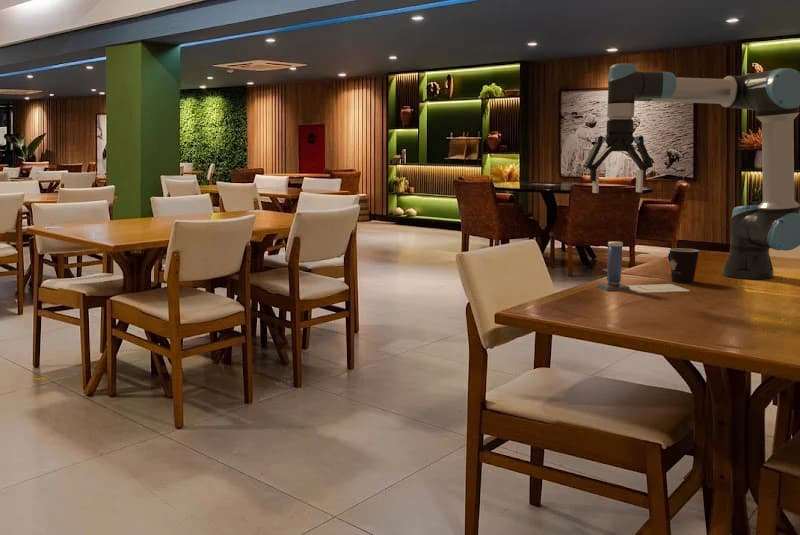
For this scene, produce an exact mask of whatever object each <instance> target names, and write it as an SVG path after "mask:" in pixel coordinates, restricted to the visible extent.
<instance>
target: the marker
mask: <svg viewBox="0 0 800 535" xmlns="http://www.w3.org/2000/svg"><path fill="white" fill-rule="evenodd" d="M623 245H624V242H623V241H618V240H617V241H613V240H611V241H608V242H607V247H608V248H607V249H608V250H607V269H606V272H607V274H606V281H607V283H608V286H620V282H621V281H622V267H623V266H622V265H623V264H622V263H623V262H622V261H623V260H622V259H623Z"/></svg>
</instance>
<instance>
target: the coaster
mask: <svg viewBox="0 0 800 535" xmlns="http://www.w3.org/2000/svg"><path fill="white" fill-rule="evenodd" d="M597 288H600V289H602V290H604V291H606V292H615V291H616V292H619V291H620V292H621V291H631V290H630V287H628V285H625V284H623V283H620V286H608V282H605V283H597Z"/></svg>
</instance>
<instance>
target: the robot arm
mask: <svg viewBox="0 0 800 535" xmlns="http://www.w3.org/2000/svg"><path fill="white" fill-rule="evenodd" d="M608 70H609V71H608V77H607V106H606V107H607V109H606V111H607V114H606V118H608V119H607V121H606V136H603V135H596V136H595V139H594V140H595V141H594V145H593V146H592V149H591V150H590V152H589V154H588V157H587V158H586V160H585V162H584V164H583V167H584V168H586V169H587V170H589V181H590V182H592V191H591V192H592V194H599V191H600V188H599V187H600V185H599V184H600V170H598V168H599V167H600V166H601V165H602V163H604V161H605V160H606V159H607V157H608V156H609V155H610V154H611V153H613V152H625V153H627V154H628V155H629V157H630V158H631V160H632V161H633V162H634V163H635V165H636V166H637V167H638V169H636V176H635V177H636V178H635V193H643V190H644V189H643V186H644V182H645V181H646V176H647V170H648V169H650V168H653V166H654V164H653V162H652V160H651V157H650V155H649V152H648V151H647V148H646V145H645V142H644V139H645V138H644V135H636V136H634V126H635V124H634V123H635V122H634V119H633V118H634V117H635V102H656V103H657V102H660V103H661V102H662V103H664V102H665V103H684V104H685V103H687V104H688V103H690V104H692V103H693V104H718V105H719V104H720V105H721V107H723V108H732V109H733V108H734V109H741V110H749V111H755V117H756V118H757V120H758V121H760V122H761V152H762V153H761V156H762V158H761V159H762V164H761V166H762V169H761V170H762V202H760V203H759V204H756V205H755V204H754V205H739V206H738V205H737V206H735V207H734V208H733V209H732V214H731V218H730V219H731V227H730V228H731V230H730V243H729V244H730V246H729V253H728V255H727V257H726V260H725V262H724V265H723V267H722V275H723V276H725V277H730V278H738V279H746V280H747V279H748V280H766V279H771V278H774V268H773V264H772V260H771V257H770V249H772V250H775V251H786V252H787V251H792V250H794V249H797V248H798V247H800V204H799V203H798V202H797V201H796V200H795V157H794V156H795V152H794V151H795V150H794V148H795V143H794V142H795V140H794V139H795V138H794V136H795V135H794V134H795V133H794V132H795V130H794V129H795V128H794V123H795V122H794V120H795V119H796V117H798V115H799V114H800V71H798V70H797V69H794V68H789V67H788V68H776V69H771V70H765V71H757V72H753V73H752V72H751V73H748V74H744V75H743V74H742V75H727V76H725V77H724V78H705V77H704V78H703V77H702V78H701V77H678V76H677V77H676V75H675V74H674V73H673V72H671V71H670V72H668V71H663V70H662V71H639V70H637V65H636V64H635V63H615V64H612V65H610V67H609V69H608ZM633 143H634V144H636V148H637V150H638V153H639V154H638V153H637V152H636V150H635V148H634V146H633V145H632V144H633ZM603 144H607V145H606V146H605V147H604V148H603V150H602V152H600V154H599V151H600V149H601V148H602V146H603ZM598 154H599V155H598ZM639 155H640V156H641V157H640V156H639ZM597 156H598V157H597Z"/></svg>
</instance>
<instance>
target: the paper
mask: <svg viewBox="0 0 800 535" xmlns="http://www.w3.org/2000/svg"><path fill="white" fill-rule="evenodd" d="M627 286H628V287H630V290H629V291H632V292H634V293H637V294H659V293H665V294H666V293H688V292H689V293H690V292H691V290H690V289H687V288H684V287H681V286H678V285H675V284H672V283H664V284H661V283H660V284H635V285H633V284H631V285H627Z"/></svg>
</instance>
